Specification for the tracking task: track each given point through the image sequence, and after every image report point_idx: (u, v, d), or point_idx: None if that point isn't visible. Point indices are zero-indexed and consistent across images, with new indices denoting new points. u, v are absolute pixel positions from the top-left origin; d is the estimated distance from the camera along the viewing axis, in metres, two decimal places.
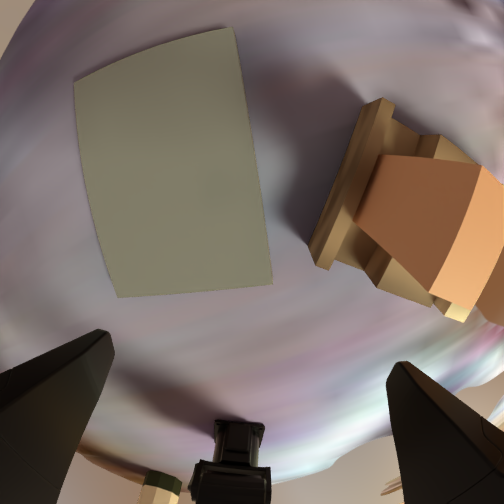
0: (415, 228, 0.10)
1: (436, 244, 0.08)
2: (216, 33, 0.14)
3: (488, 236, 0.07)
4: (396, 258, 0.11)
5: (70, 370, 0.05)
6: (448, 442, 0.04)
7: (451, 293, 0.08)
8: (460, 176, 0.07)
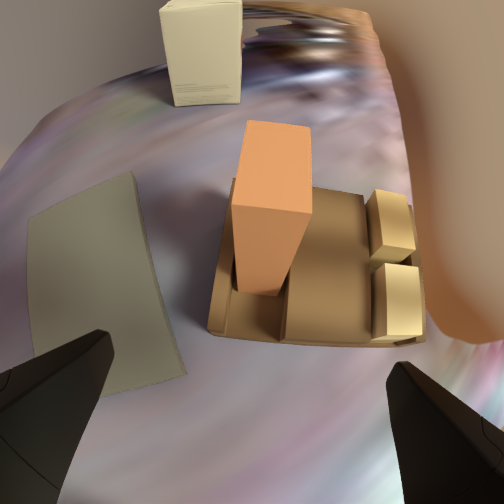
0: None
1: None
2: (120, 177, 0.25)
3: (281, 152, 0.11)
4: (234, 239, 0.13)
5: (70, 371, 0.05)
6: (448, 442, 0.04)
7: (264, 200, 0.10)
8: None
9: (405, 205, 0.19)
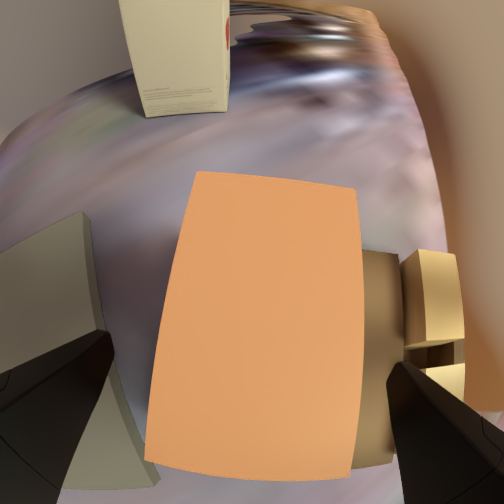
0: None
1: None
2: (69, 219, 0.18)
3: (282, 288, 0.04)
4: None
5: (70, 370, 0.05)
6: (448, 442, 0.04)
7: (227, 459, 0.03)
8: None
9: (454, 271, 0.12)
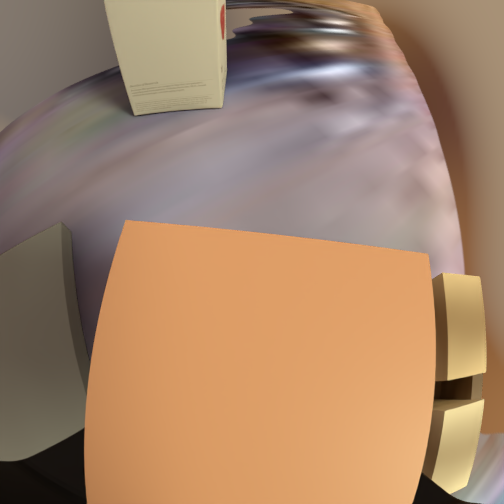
0: None
1: None
2: (48, 232, 0.15)
3: (287, 480, 0.01)
4: None
5: None
6: None
7: None
8: None
9: (479, 297, 0.10)
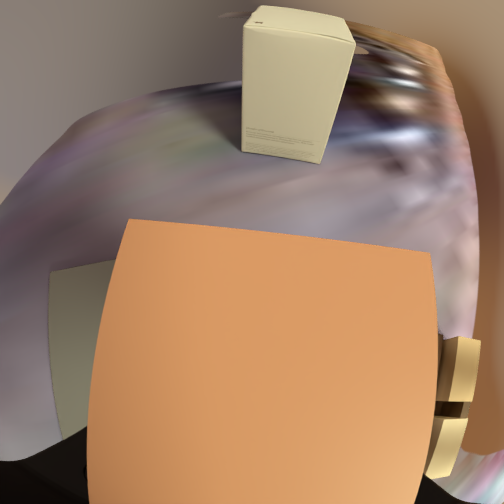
0: None
1: None
2: None
3: (291, 478, 0.02)
4: None
5: None
6: None
7: None
8: None
9: (477, 353, 0.14)
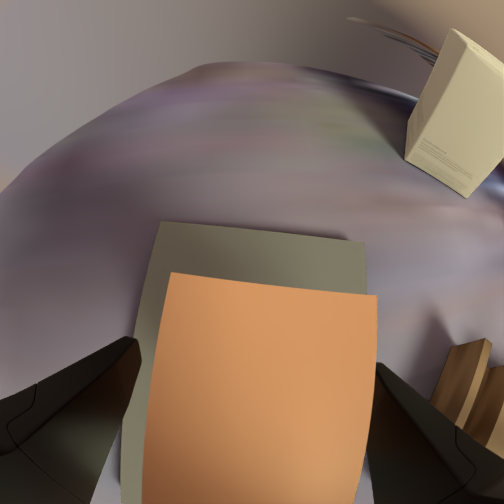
0: None
1: None
2: (348, 245, 0.17)
3: (276, 437, 0.03)
4: None
5: (102, 382, 0.05)
6: (416, 452, 0.04)
7: None
8: None
9: None
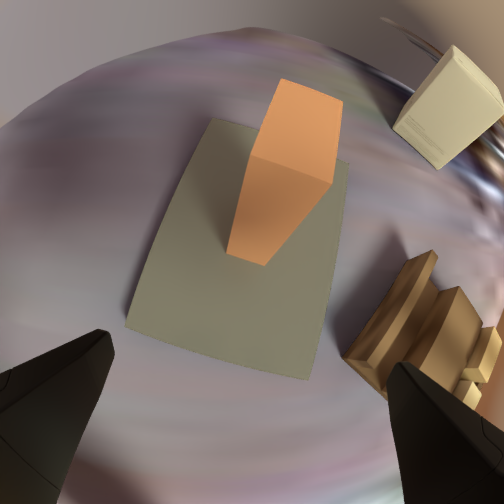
0: None
1: None
2: (337, 161, 0.24)
3: (310, 117, 0.10)
4: None
5: (70, 370, 0.05)
6: (448, 442, 0.04)
7: (285, 159, 0.09)
8: None
9: (498, 349, 0.17)
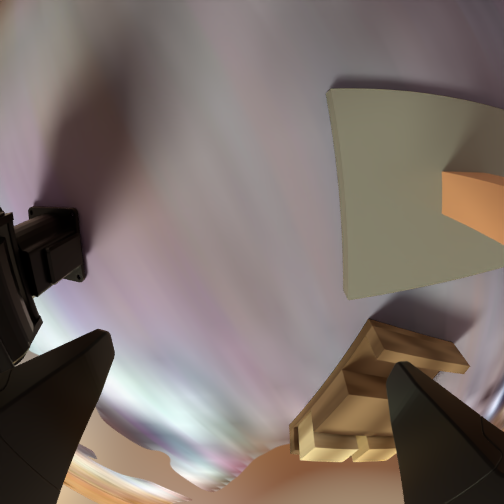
0: None
1: None
2: None
3: None
4: None
5: (70, 370, 0.05)
6: (448, 442, 0.04)
7: None
8: None
9: (380, 459, 0.21)
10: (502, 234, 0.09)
